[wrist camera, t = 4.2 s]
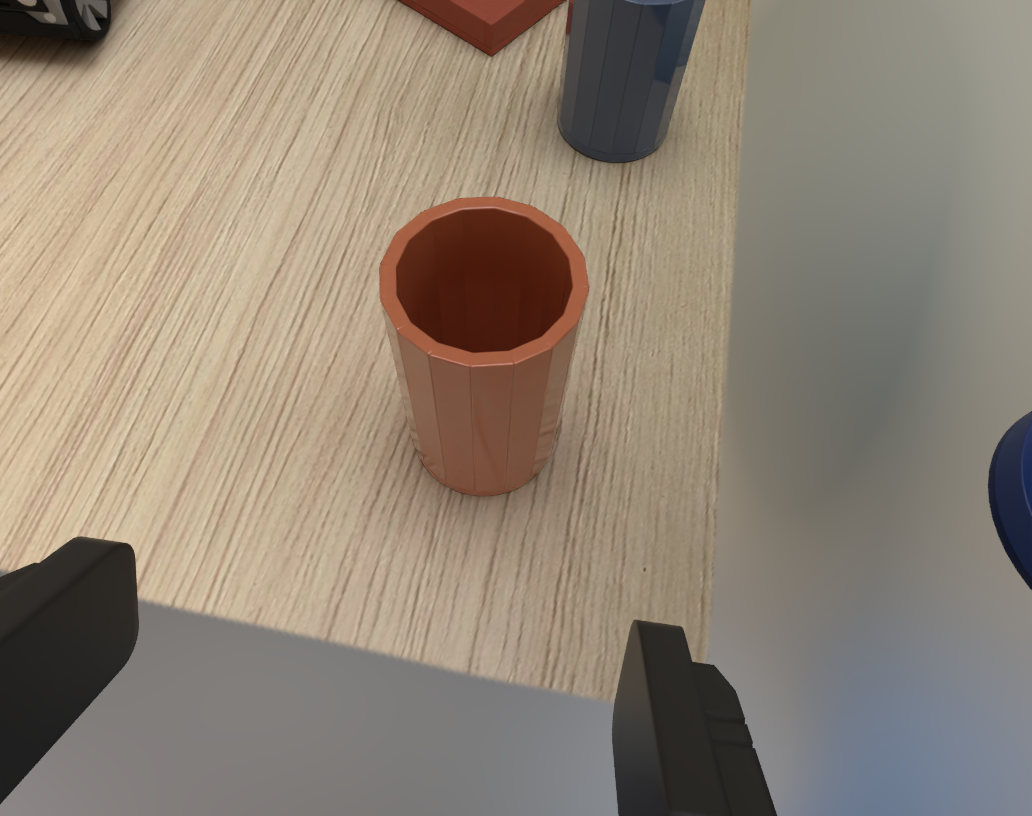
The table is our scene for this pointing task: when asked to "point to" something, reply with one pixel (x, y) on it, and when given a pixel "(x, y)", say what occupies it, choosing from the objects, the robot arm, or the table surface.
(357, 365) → the table surface
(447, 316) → the terracotta cup
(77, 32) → the toy car
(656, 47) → the slate cup
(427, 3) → the rust tray
